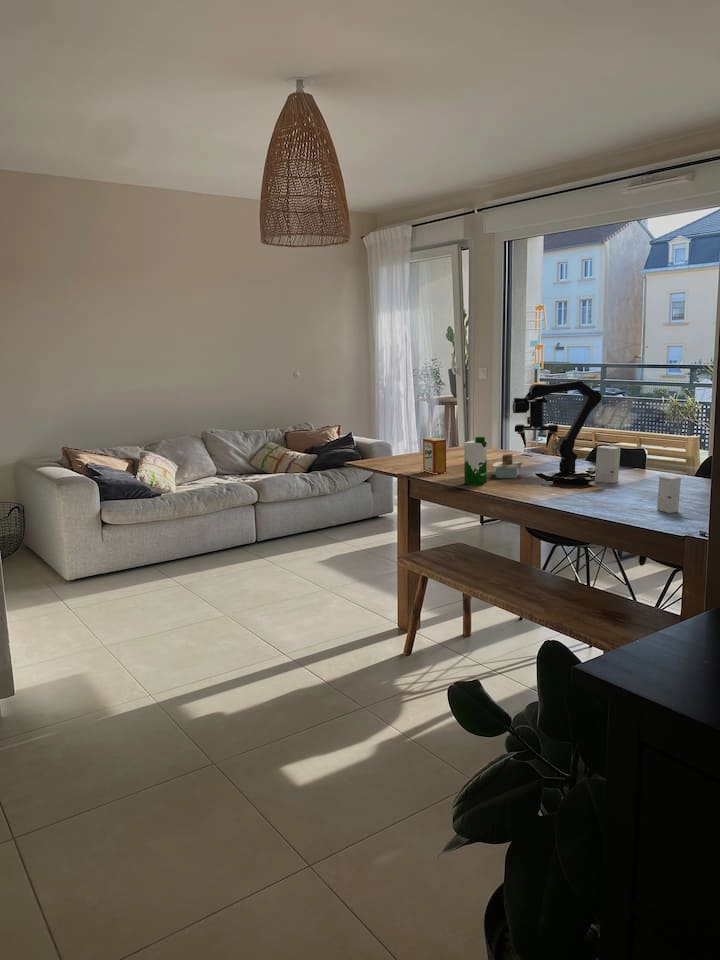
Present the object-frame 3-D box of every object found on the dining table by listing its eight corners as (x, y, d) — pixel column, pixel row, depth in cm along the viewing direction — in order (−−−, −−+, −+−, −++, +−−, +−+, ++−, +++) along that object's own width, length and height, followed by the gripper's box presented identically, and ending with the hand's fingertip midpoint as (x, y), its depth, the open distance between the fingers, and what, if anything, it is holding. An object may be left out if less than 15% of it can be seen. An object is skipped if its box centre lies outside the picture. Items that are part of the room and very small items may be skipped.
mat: (553, 479, 326) (553, 478, 326) (552, 485, 312) (552, 484, 312) (520, 478, 329) (520, 477, 329) (518, 484, 316) (518, 483, 316)
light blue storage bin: (518, 475, 338) (518, 464, 337) (516, 478, 329) (516, 467, 328) (497, 474, 340) (497, 463, 339) (496, 478, 332) (496, 467, 331)
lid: (522, 463, 338) (522, 453, 337) (520, 468, 326) (520, 457, 326) (495, 463, 341) (495, 452, 340) (492, 467, 330) (492, 456, 329)
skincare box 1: (594, 481, 317) (595, 446, 315) (600, 479, 322) (601, 445, 319) (614, 483, 312) (615, 448, 309) (619, 481, 316) (620, 446, 314)
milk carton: (480, 486, 316) (480, 438, 312) (461, 484, 321) (460, 437, 317) (489, 482, 323) (489, 436, 319) (470, 480, 328) (470, 435, 324)
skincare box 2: (656, 510, 264) (657, 476, 262) (665, 508, 266) (667, 474, 263) (670, 513, 258) (671, 478, 256) (679, 511, 260) (681, 477, 258)
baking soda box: (423, 471, 354) (422, 438, 351) (435, 470, 357) (434, 436, 354) (434, 474, 346) (433, 440, 343) (446, 473, 349) (445, 438, 346)
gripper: (558, 410, 340) (557, 445, 343) (516, 410, 345) (516, 444, 348) (558, 413, 330) (557, 448, 332) (514, 413, 335) (514, 448, 337)
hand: (536, 447), depth 338 cm, fingers open, 9 cm apart
